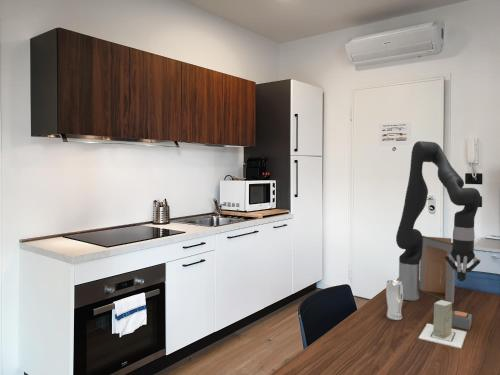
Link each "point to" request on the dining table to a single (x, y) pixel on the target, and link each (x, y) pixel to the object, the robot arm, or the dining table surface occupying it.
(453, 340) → the paper sheet
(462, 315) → the button
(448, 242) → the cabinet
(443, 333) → the skincare box
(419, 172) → the robot arm
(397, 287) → the beer glass
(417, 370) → the dining table surface
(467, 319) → the button housing
